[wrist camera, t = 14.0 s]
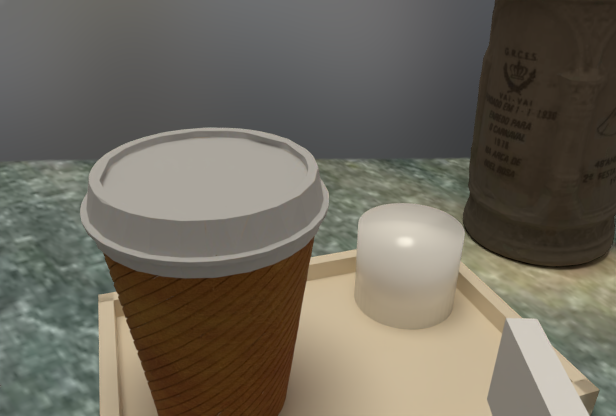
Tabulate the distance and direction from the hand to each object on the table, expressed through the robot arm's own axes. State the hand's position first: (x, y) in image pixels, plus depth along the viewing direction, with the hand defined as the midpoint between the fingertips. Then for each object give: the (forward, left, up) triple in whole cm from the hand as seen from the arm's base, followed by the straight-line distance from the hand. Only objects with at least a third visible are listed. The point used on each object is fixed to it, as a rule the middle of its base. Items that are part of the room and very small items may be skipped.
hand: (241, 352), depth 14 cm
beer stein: (-19, +28, -12) cm, 36 cm away
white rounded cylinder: (-13, +13, -11) cm, 21 cm away
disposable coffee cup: (-9, +1, -11) cm, 14 cm away
